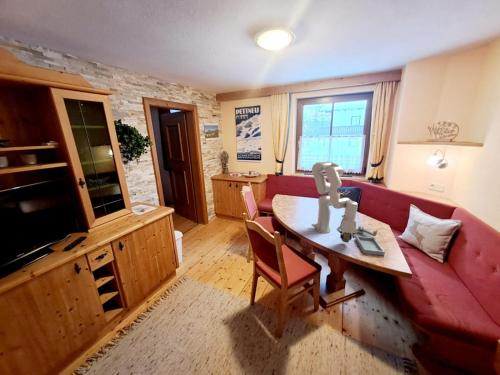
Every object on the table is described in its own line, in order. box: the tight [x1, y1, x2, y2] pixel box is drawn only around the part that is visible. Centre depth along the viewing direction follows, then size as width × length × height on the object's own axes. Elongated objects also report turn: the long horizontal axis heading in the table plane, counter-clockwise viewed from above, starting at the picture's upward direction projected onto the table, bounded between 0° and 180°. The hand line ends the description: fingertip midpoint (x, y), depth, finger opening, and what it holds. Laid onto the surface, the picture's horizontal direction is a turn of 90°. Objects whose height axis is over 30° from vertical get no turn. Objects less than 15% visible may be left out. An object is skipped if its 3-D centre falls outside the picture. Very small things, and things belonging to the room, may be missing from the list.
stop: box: [341, 232, 350, 243], centre depth 145 cm, size 5×5×8 cm
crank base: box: [352, 227, 373, 238], centre depth 161 cm, size 14×14×3 cm
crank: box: [357, 226, 378, 238], centre depth 155 cm, size 14×5×5 cm, turn 28°
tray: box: [355, 236, 386, 256], centre depth 142 cm, size 13×19×3 cm
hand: (345, 238), depth 146 cm, fingers closed on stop, 5 cm apart
